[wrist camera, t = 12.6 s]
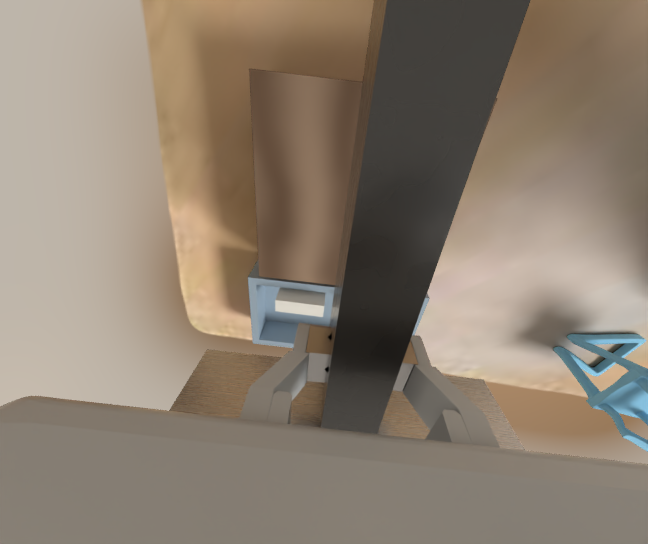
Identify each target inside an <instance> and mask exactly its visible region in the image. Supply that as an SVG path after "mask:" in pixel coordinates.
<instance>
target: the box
mask: <svg viewBox="0 0 648 544" xmlns="http://www.w3.org/2000/svg"><path fill="white" fill-rule="evenodd" d="M248 286H249V299H250V312H251V325H252V338H253V343H254V344H263V345H271V346H280V347H289V348H293V347H294V342H295V337H296V332H297V328H298V324H299V323H305V324H314V325H322V326H329V325H330V318H331V311H332V303H333V296H334V289H335V285H329V284H321V283H312V282H304V281H295V280H287V279H278V278H269V277H261V276H259V262H258V261H257V262H256V264H255V266H254V268H253V269H252V271H251V273H250V274H249V276H248ZM280 287H282V288H290V289H299V290H307V291H316V292H325V293H326V294H325V305H324V313H323V317H318V316H310V315H302V314H294V313H286V312H278V311H275V300H276V297H277V294H278V291H279V288H280ZM428 301H429V297H428V294H426V297H425V300H424V303H423V305H422V308H421V311H420V314H419V317H418V320H417V322H416V325H415V328H414V331H413V334H412V335H414V334H415V332H416V330H417V327H418V325H419V322H420V320H421V318H422V315H423V313H424V310H425V308H426V306H427V303H428Z"/></svg>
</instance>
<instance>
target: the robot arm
mask: <svg viewBox="0 0 648 544" xmlns="http://www.w3.org/2000/svg"><path fill="white" fill-rule="evenodd" d="M331 332H332V327H329V326H322V325H314V324H305V323H299V324H298V328H297V332H296V337H295V342H294V347H293V351H289V352H288V353H286V354H285V355H284V356H283V357H282V358H281V359H280V360H279V361H278V362H276V363H275V364H274V365H273V366H272V367H271V368H270V369H269V370H268V371H267V372H265V373H264V374H263V375H262V376H261V377H260V378H259V379H258V380H257V381H255V382H254V383H253V384H252V385H251V386H250V388H249V391H248V394H247V396H246V399H245V402H244V405H243V408H242V411H241V414H240V417H239V419H237V418H228V417H219V416H210V415H201V414H193V413H184V412H175V411H166V410H156V409H148V408H139V407H130V406H120V405H112V404H103V403H94V402H85V401H76V400H67V399H59V398H51V397H42V396H28V397H23V398H20V399H17V400H15V401H12V402H10V403H7V404H5V405H3V406H0V544H648V464H642V463H633V462H624V461H615V460H606V459H597V458H587V457H579V456H570V455H561V454H552V453H543V452H534V451H525V450H516V449H507V448H500V446H499V444H498V442H497V440H496V437H495V435H494V433H493V431H492V429H491V427H490V425H489V423H488V421H487V419H486V416H485V414H484V413H483V412H482V411H481V410H480V409H479V408H478V407H477V406H476V405H475V404H474V403H473V402H472V401H471V400H470V399H469V398H467V397H466V396H465V395H464V394H463V393H462V392H461V391H460V390H459V389H458V388H457V387H456V386H455V385H454V384H453V383H452V382H450V381H449V380H448V379H447V378H446V377H445V376H444V375H443V374H442V373H441V372H440V371H439V370H438V369H437V368H436V367H432V366H431V363H430V361H429V358H428V355H427V352H426V350H425V347H424V344H423V341H422V339H421V337H420V336H414V335H412V337H411V339H410V342H409V345H408V348H407V351H406V354H405V356H404V359H403V362H402V365H401V368H400V371H399V373H398V376H397V379H396V382H395V385H394V388H393V390H394V391H401V392H403V394H404V395H405V397H406V398H407V399H408V401H409V402H410V404H411V405H412V406H413V408H414V409H415V411H416V412H417V413H418V415H419V416H420V417H421V419H422V420H423V422H424V423H425V424H426V426H427V427H428V429H429V430H430V432H429V433H428V435H427V437H426V438H425V439H417V438H408V437H399V436H390V435H381V434H372V433H363V432H354V431H345V430H336V429H327V428H318V427H309V426H300V425H291V406H292V401H293V399H294V398H295V397H296V395H297V394H298V393H299V392H300V390H301V389H302V388H303V387H304V385H305V384H306V383H307V381H312V382H324V383H326V380H327V373H328V366H329V361H330V353H331V341H330V340H331Z"/></svg>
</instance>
